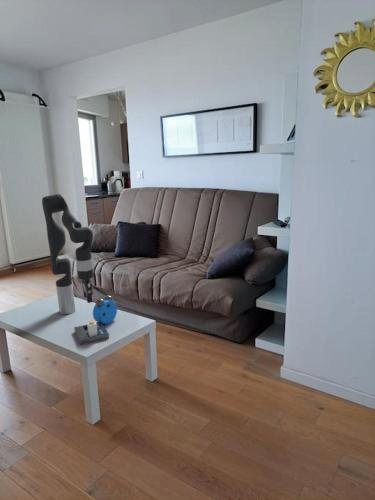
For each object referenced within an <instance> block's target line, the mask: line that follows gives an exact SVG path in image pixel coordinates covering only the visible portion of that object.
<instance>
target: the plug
mask: <svg viewBox="0 0 375 500" xmlns="http://www.w3.org/2000/svg"><path fill="white" fill-rule="evenodd" d="M96 322H97V321H95V320H92V321H88V322H87V323H86V325H87V328H88V337H92V336H96V335H98V332H97V324H96Z"/></svg>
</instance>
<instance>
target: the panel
mask: <svg viewBox="0 0 375 500" xmlns="http://www.w3.org/2000/svg"><path fill="white" fill-rule="evenodd" d="M95 322H96V324H97V332H98V335H96V336H92V337H88V328H87V324H83V325H79V326H75V327H74V334H75V336H76V338H77V340H78V342H79V345H80V346H83V345H88V344H91V343H95V342H96V343H97V342H100V341H104V340H107V339H110V334H109V332H108V330H107V328H106V327H105V325H104V324H103V323H101V322H97V321H95Z"/></svg>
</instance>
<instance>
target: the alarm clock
mask: <svg viewBox="0 0 375 500" xmlns="http://www.w3.org/2000/svg"><path fill="white" fill-rule="evenodd" d="M94 303H95V304H94V306H93V310H92V317H93V319H94V321H95V322H101V323H102V324H103V325H108V324H111V323H112V322H113V321H114V320H115V318H116V317H117V313H118V308H117V307H118V306H117V304H116V302H115V301H114V297H113V296H111V295H110V294H109V295H105V296H104V298H98V299H97V300H96V301H95V302H94Z"/></svg>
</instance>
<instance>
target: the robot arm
mask: <svg viewBox="0 0 375 500" xmlns="http://www.w3.org/2000/svg"><path fill="white" fill-rule="evenodd" d="M41 204H42V211H43V214H44V215H43V216H44V219H45V225H46V235H47V242H48V247H49V248H48V249H49V253H50V254H49V255H50V256H49V257H50V268H51V273H52V274H53V275H54V276H57V275H58V276H59V275H64V276H62V277H61V278H58V279H57V280H56V281H55V286H56V295H57V296H56V297H57V303H58V310H59V311H58V312H59V314H61V315H70V314H72V313H74V312H75V311H76V304H75V303H76V302H75V294H74V289H73V287H74V286H73V280H72V279H73V278H72V268H71V267H72V266H71V260H70V259H69V258H67V257H65V258H58V256H59V254H60V253H61V252H62V250H63V248H64V247H65V245H66V243H67V242H66V241H67V240H66V234H65V233H66V232H65V230H64V228H65V229H66V230H67V232H68V235H69V238H70V241H71V242H72V243H74V244H81V243H83V244H82V245H81V246H78V247H77V248H75V253H74V254H75V260H76V262H75V263H76V264H75V265H76V274H77V275H76V276H77V279H78V280H80V283H81V288H82V292H83V297H84V298H86V301H87V302H86V303H87V304H88V303H89V304H91V303H93V295H94V293H93V292H94V291H93V285H92V284H93V283H92V281H90V279H93V278H94V275H95V274H94V267H93V266H94V265H93V260H92V252H91V251H92V250H91V249H92V244H93V239H94V233H93V230H92V228H91V227H89V226H83V225H82V223H81V222H80V220H79V219H78V218H77V217H76V216H75V215H74V213H73V211H72V209H71V208H70V206H69V204H68V202H67V200H66V199H65V197H64V196H63V195H62V194H60V193H57V194H52V195H46V196H43V197H42V199H41ZM60 212H62V215H61V223H62V225H63V226H64V228H63V227H62V226H61V225H60V224H59V223H58V222H57V221H56V220H55V219H54V218H53V214H56V213H60ZM82 226H83V227H82Z"/></svg>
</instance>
